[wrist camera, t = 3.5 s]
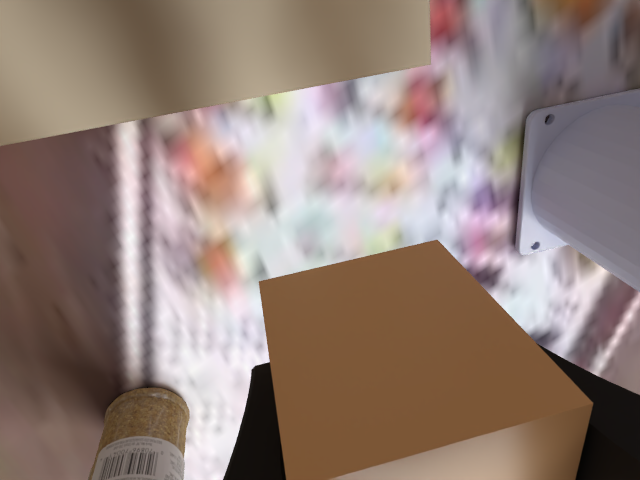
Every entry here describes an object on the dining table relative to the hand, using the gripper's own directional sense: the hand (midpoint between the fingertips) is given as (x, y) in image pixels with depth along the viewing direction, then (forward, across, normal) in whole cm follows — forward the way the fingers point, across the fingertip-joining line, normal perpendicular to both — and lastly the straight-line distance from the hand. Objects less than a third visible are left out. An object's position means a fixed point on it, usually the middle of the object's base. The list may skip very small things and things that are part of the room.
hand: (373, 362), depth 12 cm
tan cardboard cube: (+1, 0, 0) cm, 1 cm away
